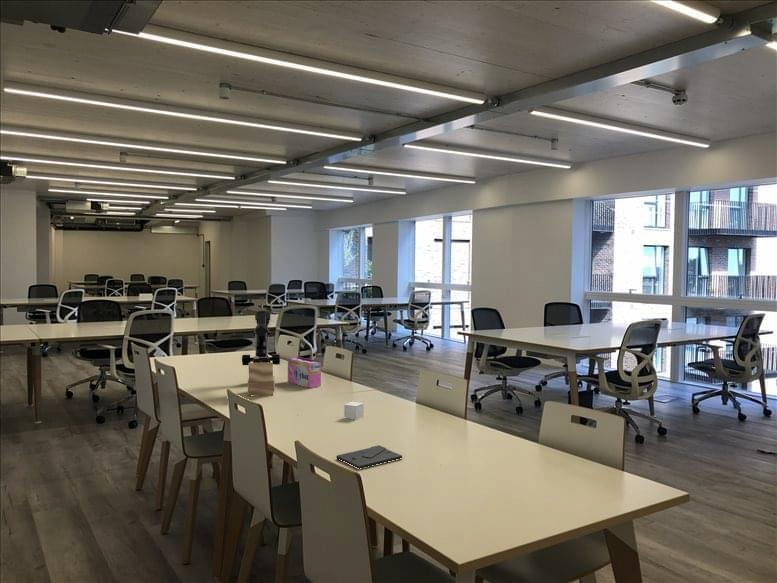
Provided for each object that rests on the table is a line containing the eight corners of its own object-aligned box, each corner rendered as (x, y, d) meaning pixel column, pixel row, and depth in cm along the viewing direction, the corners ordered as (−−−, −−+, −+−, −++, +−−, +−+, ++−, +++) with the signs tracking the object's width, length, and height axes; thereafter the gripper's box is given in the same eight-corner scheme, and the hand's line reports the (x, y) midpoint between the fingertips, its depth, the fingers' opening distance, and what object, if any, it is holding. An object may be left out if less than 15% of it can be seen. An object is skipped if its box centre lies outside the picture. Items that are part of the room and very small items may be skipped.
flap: (248, 363, 288) (248, 363, 288) (272, 362, 290) (272, 362, 290) (249, 381, 294) (249, 381, 294) (272, 380, 296) (272, 381, 296)
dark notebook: (378, 451, 210) (336, 461, 200) (378, 444, 210) (336, 454, 200) (402, 461, 200) (358, 472, 189) (402, 454, 200) (358, 465, 189)
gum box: (285, 381, 332) (285, 357, 332) (298, 380, 337) (298, 356, 337) (309, 388, 314) (309, 363, 313) (321, 386, 319) (321, 361, 318)
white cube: (356, 420, 250) (356, 406, 250) (344, 418, 253) (344, 404, 253) (363, 416, 256) (363, 403, 255) (351, 415, 259) (351, 401, 258)
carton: (249, 391, 307) (249, 376, 306) (274, 390, 309) (274, 375, 309) (247, 396, 295) (247, 381, 294) (274, 395, 297) (274, 380, 297)
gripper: (280, 357, 311) (280, 382, 301) (243, 357, 308) (242, 383, 297) (280, 344, 303) (280, 369, 293) (242, 344, 300) (241, 370, 289)
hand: (260, 373), depth 293 cm, fingers closed
